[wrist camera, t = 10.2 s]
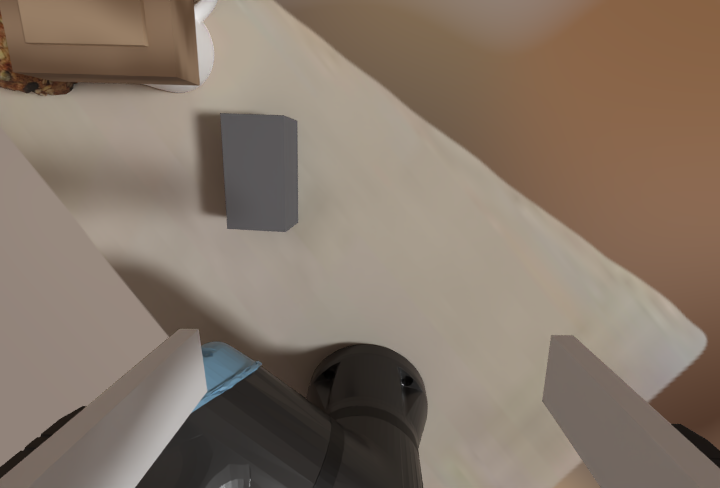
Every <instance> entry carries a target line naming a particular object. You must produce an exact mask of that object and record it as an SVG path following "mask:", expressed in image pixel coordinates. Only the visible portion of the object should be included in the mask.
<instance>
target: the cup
mask: <svg viewBox="0 0 720 488" xmlns="http://www.w3.org/2000/svg"><path fill="white" fill-rule="evenodd" d="M216 3H217V0H200V1H199V2H198V3H197V4H196V5H195V6H194V13H195V26H196V40H197V53H198V66H199V79H200V86H201V85H202V84H203V83H204V82H205V81H206V79H207V78H208V76H209V75H210V73H211V70H212V67H213V63H214V47H213V42H212V38H211V36H210V33H209V31H208V29H207V27H206V26H205V24H204V23H203V21H204V20H205V19H206V18H207V17H208V16H209V15H210V13H211V12H212V11H213V9H214V7H215V6H216ZM144 85H148V86H151V87H154V88H158V89H161V90H165V91H169V92H174V93H185V92H189V91H192V90H194V89H196V88H198V87H199V86H194V85H161V84H144Z"/></svg>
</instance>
